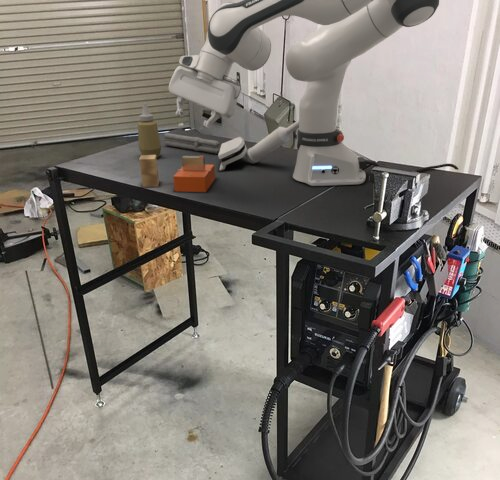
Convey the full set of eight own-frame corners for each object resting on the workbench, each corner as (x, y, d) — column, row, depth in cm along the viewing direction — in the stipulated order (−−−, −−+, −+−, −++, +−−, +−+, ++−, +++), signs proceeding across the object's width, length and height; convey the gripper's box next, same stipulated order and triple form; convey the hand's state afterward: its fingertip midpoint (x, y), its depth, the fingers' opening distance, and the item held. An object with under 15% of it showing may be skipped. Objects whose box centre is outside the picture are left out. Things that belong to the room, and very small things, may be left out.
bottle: (258, 157, 184) (310, 121, 165) (253, 167, 182) (305, 132, 163) (247, 146, 182) (299, 109, 163) (242, 156, 179) (294, 120, 160)
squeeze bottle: (163, 154, 196) (157, 101, 187) (161, 160, 190) (155, 105, 180) (141, 154, 196) (134, 102, 187) (138, 160, 189) (131, 106, 180)
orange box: (184, 178, 170) (182, 163, 168) (217, 179, 169) (216, 164, 166) (172, 191, 160) (171, 175, 157) (207, 192, 158) (206, 176, 155)
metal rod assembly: (164, 146, 206) (163, 133, 203) (169, 145, 208) (168, 131, 205) (216, 155, 193) (215, 141, 190) (221, 153, 194) (220, 139, 192)
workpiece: (159, 182, 168) (156, 154, 163) (157, 186, 164) (154, 158, 159) (144, 182, 168) (140, 155, 163) (142, 187, 164) (139, 159, 159)
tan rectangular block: (183, 170, 162) (181, 156, 159) (184, 169, 163) (183, 154, 161) (204, 171, 161) (203, 156, 158) (205, 169, 162) (204, 155, 160)
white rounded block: (219, 171, 176) (247, 159, 173) (213, 157, 173) (242, 145, 171) (223, 158, 190) (249, 147, 187) (217, 145, 187) (244, 134, 185)
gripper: (248, 86, 140) (228, 138, 144) (188, 63, 147) (170, 113, 151) (238, 78, 134) (217, 132, 138) (175, 54, 141) (157, 106, 145)
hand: (192, 122), depth 144 cm, fingers open, 8 cm apart
